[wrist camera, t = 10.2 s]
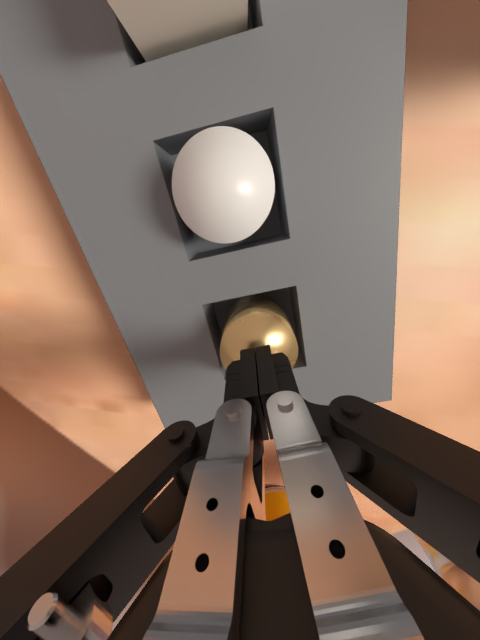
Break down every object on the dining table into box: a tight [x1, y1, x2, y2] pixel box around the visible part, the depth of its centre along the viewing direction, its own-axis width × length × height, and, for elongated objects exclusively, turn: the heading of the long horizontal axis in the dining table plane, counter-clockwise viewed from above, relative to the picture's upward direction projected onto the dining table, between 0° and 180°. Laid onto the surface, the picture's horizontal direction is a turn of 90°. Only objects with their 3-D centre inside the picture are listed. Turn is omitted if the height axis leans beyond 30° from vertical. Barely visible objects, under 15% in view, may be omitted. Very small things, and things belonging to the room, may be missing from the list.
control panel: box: [0, 0, 408, 429], centre depth 13 cm, size 30×16×4 cm, turn 12°
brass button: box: [220, 295, 298, 371], centre depth 15 cm, size 4×4×4 cm
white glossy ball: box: [172, 126, 275, 243], centre depth 12 cm, size 4×4×4 cm
